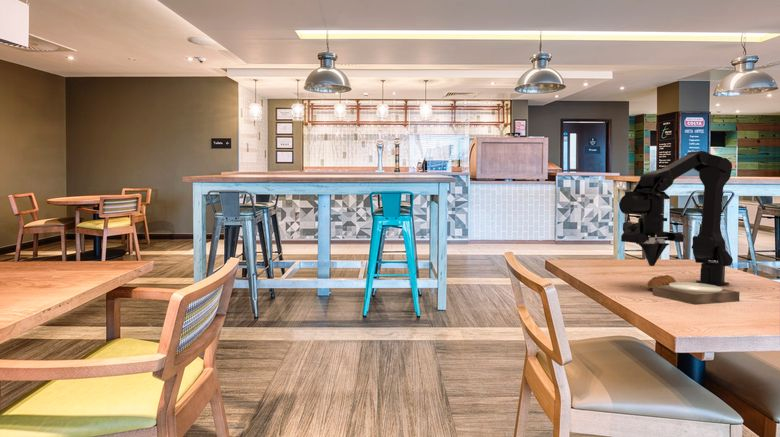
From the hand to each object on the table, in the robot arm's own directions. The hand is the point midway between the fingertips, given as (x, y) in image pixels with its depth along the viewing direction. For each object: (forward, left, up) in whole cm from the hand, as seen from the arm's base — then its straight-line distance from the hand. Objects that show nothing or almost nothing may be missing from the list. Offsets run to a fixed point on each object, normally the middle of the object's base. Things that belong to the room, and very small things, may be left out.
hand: (651, 265), depth 143 cm
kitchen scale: (-1, +13, -7) cm, 15 cm away
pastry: (0, 0, -8) cm, 8 cm away
